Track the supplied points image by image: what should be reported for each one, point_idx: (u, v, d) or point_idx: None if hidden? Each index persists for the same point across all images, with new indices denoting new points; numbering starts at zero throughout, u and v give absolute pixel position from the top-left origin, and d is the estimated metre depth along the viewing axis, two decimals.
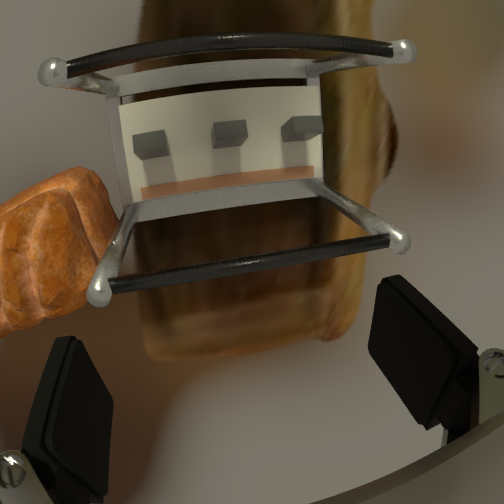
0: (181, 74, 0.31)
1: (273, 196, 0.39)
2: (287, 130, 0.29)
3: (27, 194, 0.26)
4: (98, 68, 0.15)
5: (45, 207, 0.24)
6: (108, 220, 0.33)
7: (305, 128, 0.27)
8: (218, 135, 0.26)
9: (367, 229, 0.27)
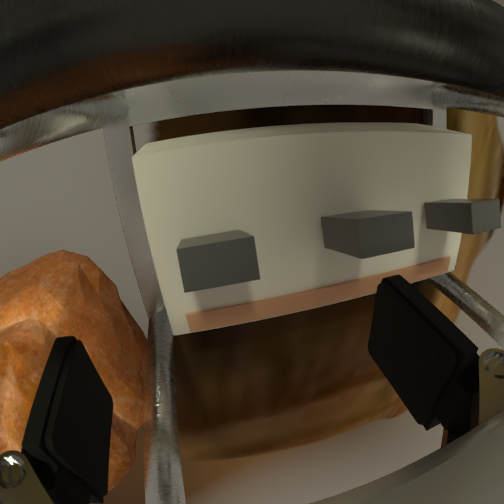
0: (246, 87, 0.17)
1: None
2: (446, 218, 0.15)
3: None
4: (12, 107, 0.02)
5: (11, 378, 0.11)
6: (125, 346, 0.19)
7: (483, 224, 0.14)
8: (366, 249, 0.12)
9: None
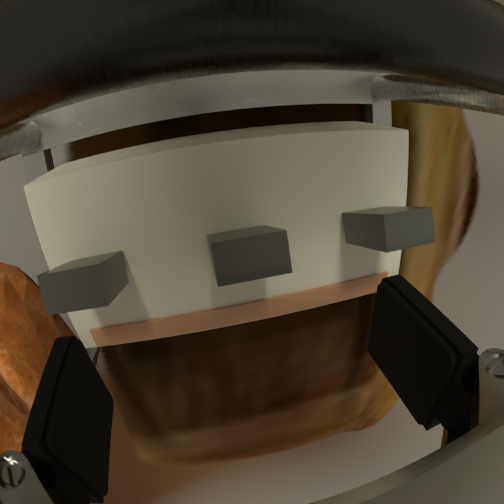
0: (147, 101, 0.16)
1: None
2: (362, 231, 0.14)
3: None
4: None
5: None
6: (49, 350, 0.18)
7: (405, 239, 0.13)
8: (223, 276, 0.12)
9: None
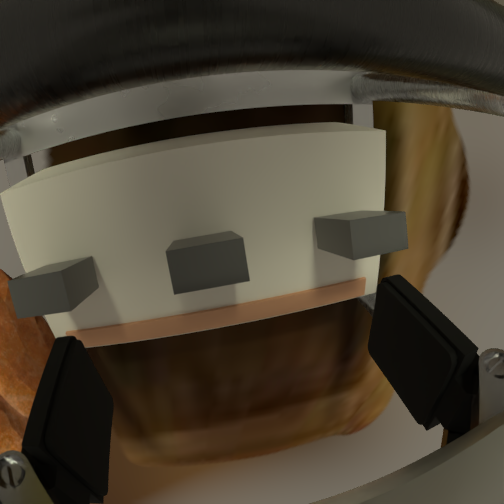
0: (120, 106, 0.16)
1: None
2: (331, 237, 0.14)
3: None
4: None
5: None
6: (30, 350, 0.18)
7: (374, 246, 0.12)
8: (179, 283, 0.11)
9: None
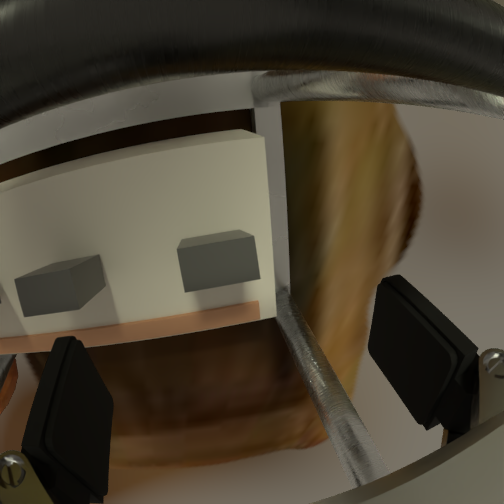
0: (25, 134, 0.15)
1: None
2: None
3: None
4: None
5: None
6: None
7: (211, 277, 0.11)
8: (26, 308, 0.10)
9: (342, 465, 0.12)
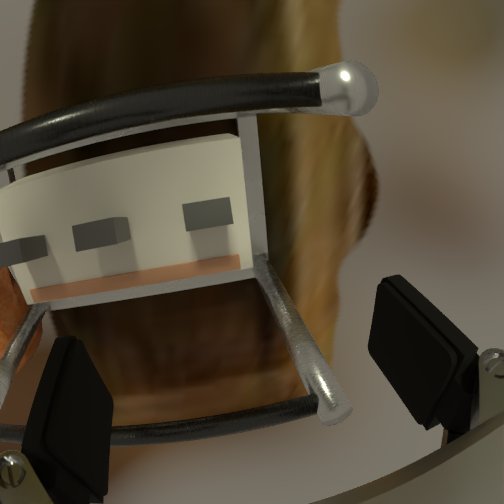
0: None
1: (201, 281, 0.30)
2: None
3: None
4: None
5: None
6: (6, 305, 0.24)
7: (202, 222, 0.18)
8: (78, 245, 0.17)
9: None
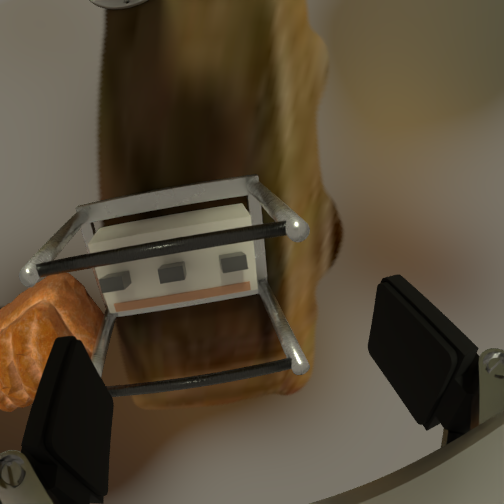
0: (137, 203, 0.39)
1: (224, 296, 0.47)
2: (220, 264, 0.37)
3: (22, 305, 0.34)
4: (58, 273, 0.23)
5: (35, 321, 0.32)
6: (87, 313, 0.40)
7: (231, 268, 0.35)
8: (161, 280, 0.34)
9: None
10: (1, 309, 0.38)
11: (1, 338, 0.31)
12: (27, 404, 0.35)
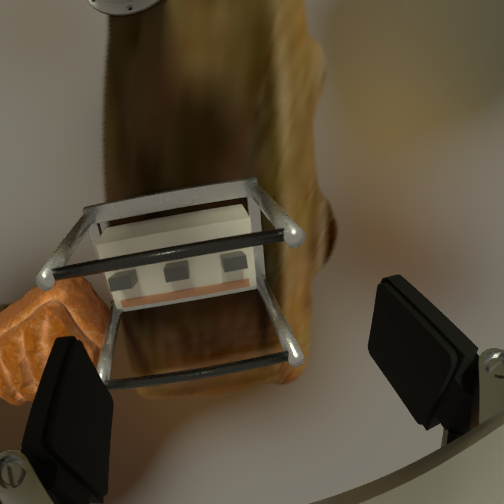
0: (142, 204, 0.41)
1: None
2: (222, 263, 0.40)
3: (32, 304, 0.37)
4: (74, 277, 0.26)
5: (47, 319, 0.34)
6: (94, 309, 0.43)
7: (232, 267, 0.38)
8: (167, 279, 0.37)
9: None
10: (9, 307, 0.41)
11: (13, 336, 0.33)
12: None
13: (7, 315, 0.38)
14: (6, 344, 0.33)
